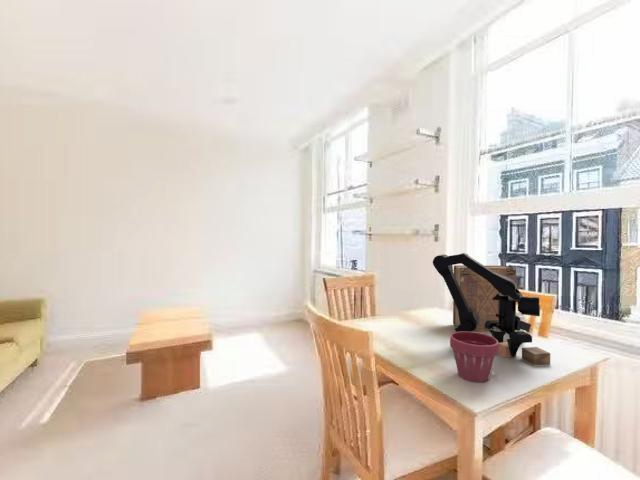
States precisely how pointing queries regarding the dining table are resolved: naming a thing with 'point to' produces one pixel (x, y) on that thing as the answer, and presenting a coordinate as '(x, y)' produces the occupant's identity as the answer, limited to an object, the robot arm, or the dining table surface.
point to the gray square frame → (532, 364)
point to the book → (480, 293)
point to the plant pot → (474, 354)
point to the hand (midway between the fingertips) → (506, 353)
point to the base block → (536, 356)
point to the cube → (504, 349)
